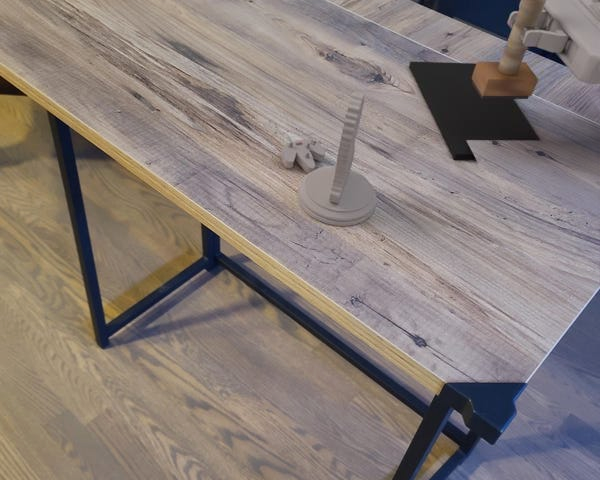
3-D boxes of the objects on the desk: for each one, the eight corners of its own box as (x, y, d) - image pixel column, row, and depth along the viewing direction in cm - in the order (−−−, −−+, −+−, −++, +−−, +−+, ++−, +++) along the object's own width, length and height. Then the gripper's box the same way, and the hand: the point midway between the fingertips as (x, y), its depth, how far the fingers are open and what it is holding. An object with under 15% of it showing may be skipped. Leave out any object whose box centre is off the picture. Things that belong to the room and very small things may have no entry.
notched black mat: (488, 69, 99) (491, 63, 98) (546, 159, 84) (549, 154, 83) (408, 67, 97) (410, 61, 96) (453, 159, 82) (455, 153, 81)
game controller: (301, 181, 75) (303, 164, 73) (239, 138, 80) (239, 121, 78) (331, 163, 78) (334, 146, 76) (269, 122, 83) (271, 106, 81)
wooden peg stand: (517, 82, 82) (563, -34, 71) (529, 100, 80) (580, -18, 68) (469, 82, 81) (509, -36, 70) (481, 100, 79) (523, -20, 67)
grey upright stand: (382, 185, 77) (412, 77, 65) (367, 235, 70) (397, 126, 59) (308, 165, 77) (325, 56, 66) (287, 213, 71) (302, 101, 60)
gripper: (645, 97, 72) (540, 97, 70) (571, 18, 85) (480, 15, 83) (675, 47, 67) (563, 45, 65) (592, -30, 80) (496, -33, 78)
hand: (516, 28), depth 74 cm, fingers closed on wooden peg stand, 2 cm apart
